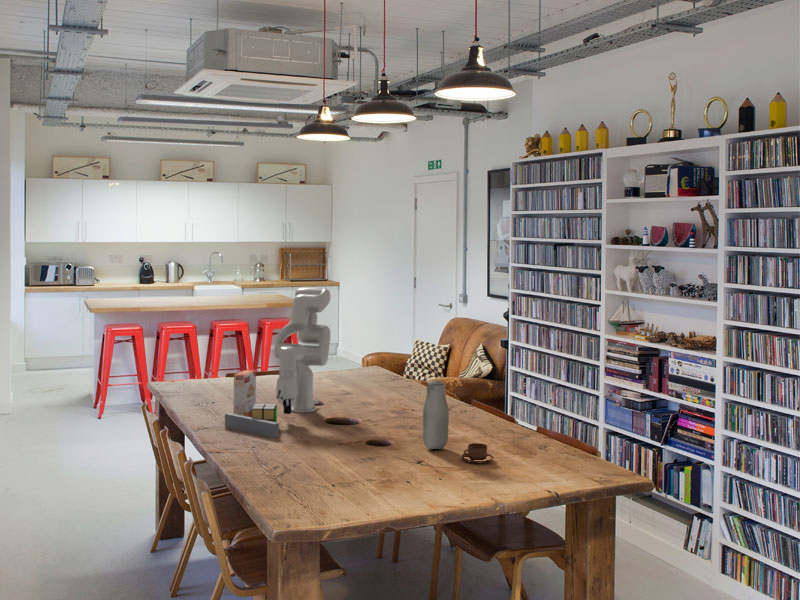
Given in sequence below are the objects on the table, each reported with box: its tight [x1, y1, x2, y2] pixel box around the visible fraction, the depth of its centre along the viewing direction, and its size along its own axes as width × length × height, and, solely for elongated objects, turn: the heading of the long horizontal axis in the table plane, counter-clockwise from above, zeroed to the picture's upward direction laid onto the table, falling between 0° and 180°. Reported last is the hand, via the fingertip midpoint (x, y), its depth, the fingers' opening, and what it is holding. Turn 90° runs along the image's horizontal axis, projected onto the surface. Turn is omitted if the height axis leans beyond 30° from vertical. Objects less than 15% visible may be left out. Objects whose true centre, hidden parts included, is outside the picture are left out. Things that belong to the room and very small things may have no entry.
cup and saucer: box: [461, 442, 494, 463], centre depth 319 cm, size 12×12×6 cm
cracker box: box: [232, 369, 257, 417], centre depth 384 cm, size 14×6×21 cm, turn 168°
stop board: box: [224, 412, 280, 439], centre depth 356 cm, size 2×30×6 cm, turn 55°
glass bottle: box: [422, 380, 450, 450], centre depth 333 cm, size 10×10×28 cm
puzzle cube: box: [250, 403, 278, 423], centre depth 363 cm, size 10×10×10 cm
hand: (287, 413), depth 375 cm, fingers closed
